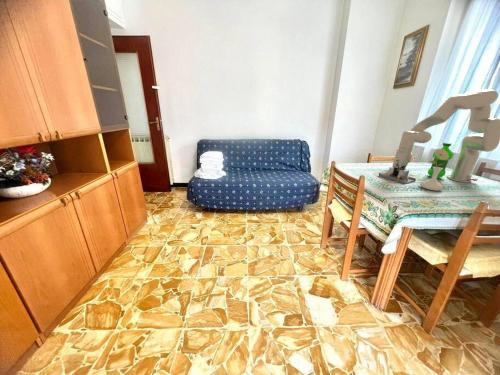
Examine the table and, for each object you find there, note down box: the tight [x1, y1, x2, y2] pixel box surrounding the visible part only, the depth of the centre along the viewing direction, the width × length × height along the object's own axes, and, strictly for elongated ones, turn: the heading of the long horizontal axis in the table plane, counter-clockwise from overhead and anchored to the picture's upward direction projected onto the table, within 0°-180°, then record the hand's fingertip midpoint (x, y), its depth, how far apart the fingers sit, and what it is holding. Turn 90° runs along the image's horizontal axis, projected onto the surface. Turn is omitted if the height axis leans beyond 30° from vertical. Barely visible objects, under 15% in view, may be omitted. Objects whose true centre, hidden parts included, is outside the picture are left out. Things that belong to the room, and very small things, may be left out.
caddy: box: [378, 170, 417, 185], centre depth 146 cm, size 18×13×4 cm
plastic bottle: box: [427, 142, 454, 179], centre depth 147 cm, size 10×10×25 cm
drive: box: [388, 166, 410, 179], centre depth 145 cm, size 10×6×6 cm, turn 26°
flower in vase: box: [419, 148, 449, 191], centre depth 126 cm, size 13×11×25 cm
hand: (397, 174), depth 146 cm, fingers closed on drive, 6 cm apart
